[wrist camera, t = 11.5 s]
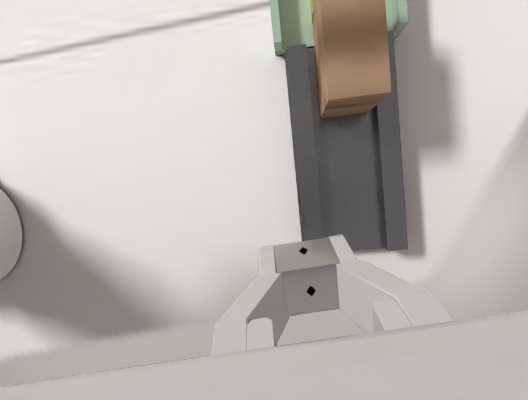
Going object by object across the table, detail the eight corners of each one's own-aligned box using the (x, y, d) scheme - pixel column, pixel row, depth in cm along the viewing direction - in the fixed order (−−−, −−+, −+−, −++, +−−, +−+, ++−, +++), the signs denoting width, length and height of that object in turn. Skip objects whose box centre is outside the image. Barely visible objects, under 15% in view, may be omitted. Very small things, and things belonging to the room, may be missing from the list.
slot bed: (401, 243, 31) (410, 248, 29) (302, 250, 33) (303, 256, 30) (387, 41, 30) (395, 30, 28) (284, 57, 31) (284, 47, 29)
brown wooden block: (368, 112, 30) (391, 92, 23) (320, 118, 30) (328, 100, 23) (361, 14, 29) (382, -38, 22) (312, 22, 30) (318, -26, 23)
